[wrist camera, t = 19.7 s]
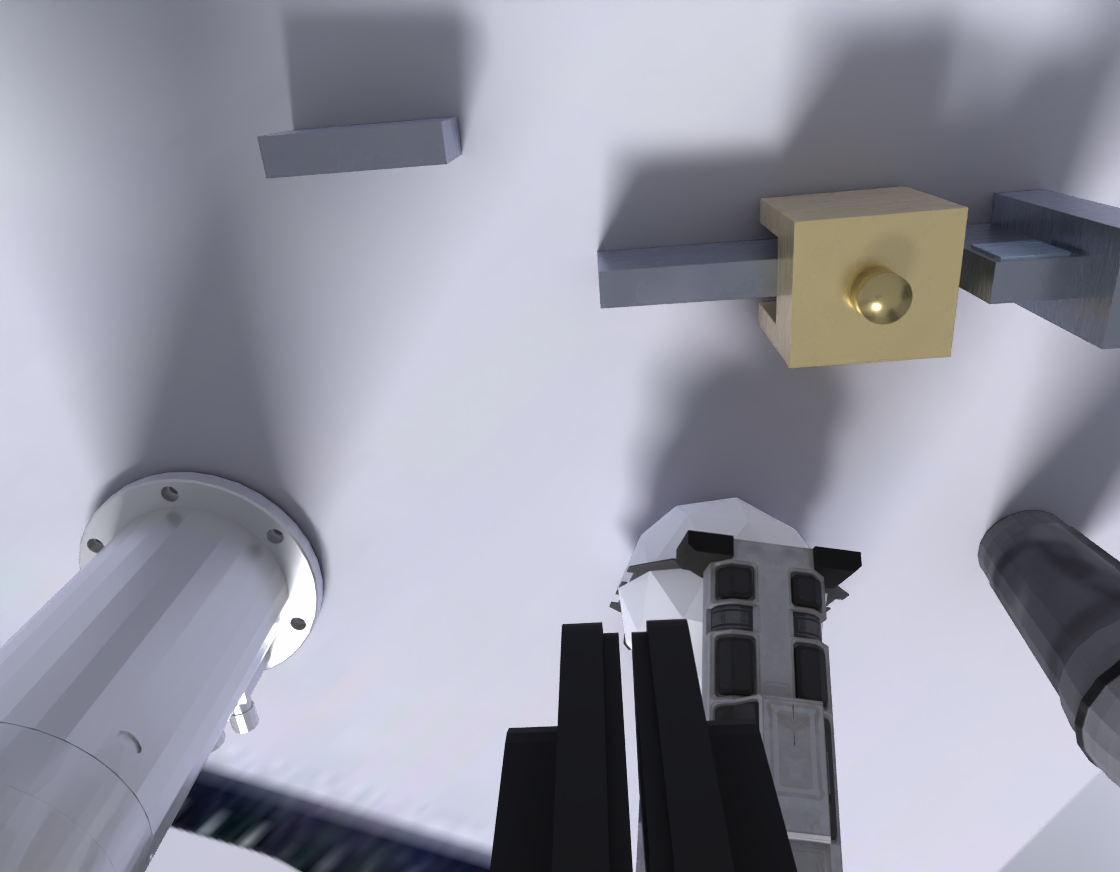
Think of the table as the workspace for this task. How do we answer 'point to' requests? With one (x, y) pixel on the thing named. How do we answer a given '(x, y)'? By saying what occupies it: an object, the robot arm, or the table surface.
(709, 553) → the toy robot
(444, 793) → the table surface
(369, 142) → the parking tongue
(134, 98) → the table surface
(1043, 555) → the beverage cup
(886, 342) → the tan box with knob
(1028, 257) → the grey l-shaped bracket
